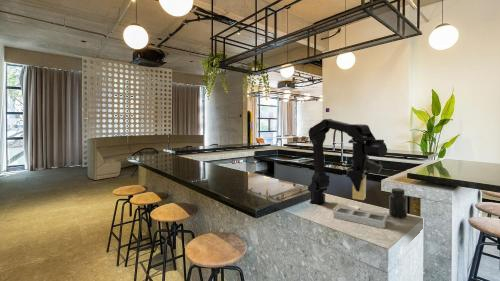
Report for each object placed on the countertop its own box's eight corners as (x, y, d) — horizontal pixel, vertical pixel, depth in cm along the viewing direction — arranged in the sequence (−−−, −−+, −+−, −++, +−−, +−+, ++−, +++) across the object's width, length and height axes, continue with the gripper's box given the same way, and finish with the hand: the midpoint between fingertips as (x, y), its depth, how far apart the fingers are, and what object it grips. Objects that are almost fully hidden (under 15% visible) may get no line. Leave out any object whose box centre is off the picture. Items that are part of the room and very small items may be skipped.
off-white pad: (333, 209, 117) (333, 208, 117) (338, 204, 124) (338, 203, 124) (355, 214, 111) (355, 213, 111) (359, 208, 118) (359, 207, 118)
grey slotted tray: (333, 217, 108) (333, 212, 108) (338, 211, 115) (338, 206, 114) (384, 228, 96) (384, 222, 96) (387, 221, 103) (387, 215, 102)
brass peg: (352, 198, 105) (352, 175, 104) (354, 195, 108) (355, 173, 107) (363, 200, 102) (363, 176, 101) (365, 197, 106) (366, 174, 105)
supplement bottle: (400, 212, 112) (400, 187, 111) (410, 218, 105) (411, 191, 104) (385, 213, 111) (386, 187, 110) (394, 219, 105) (395, 192, 104)
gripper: (377, 158, 91) (376, 199, 93) (384, 152, 106) (383, 187, 108) (346, 156, 98) (345, 194, 99) (357, 151, 113) (356, 184, 114)
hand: (359, 189), depth 105 cm, fingers closed on brass peg, 4 cm apart
